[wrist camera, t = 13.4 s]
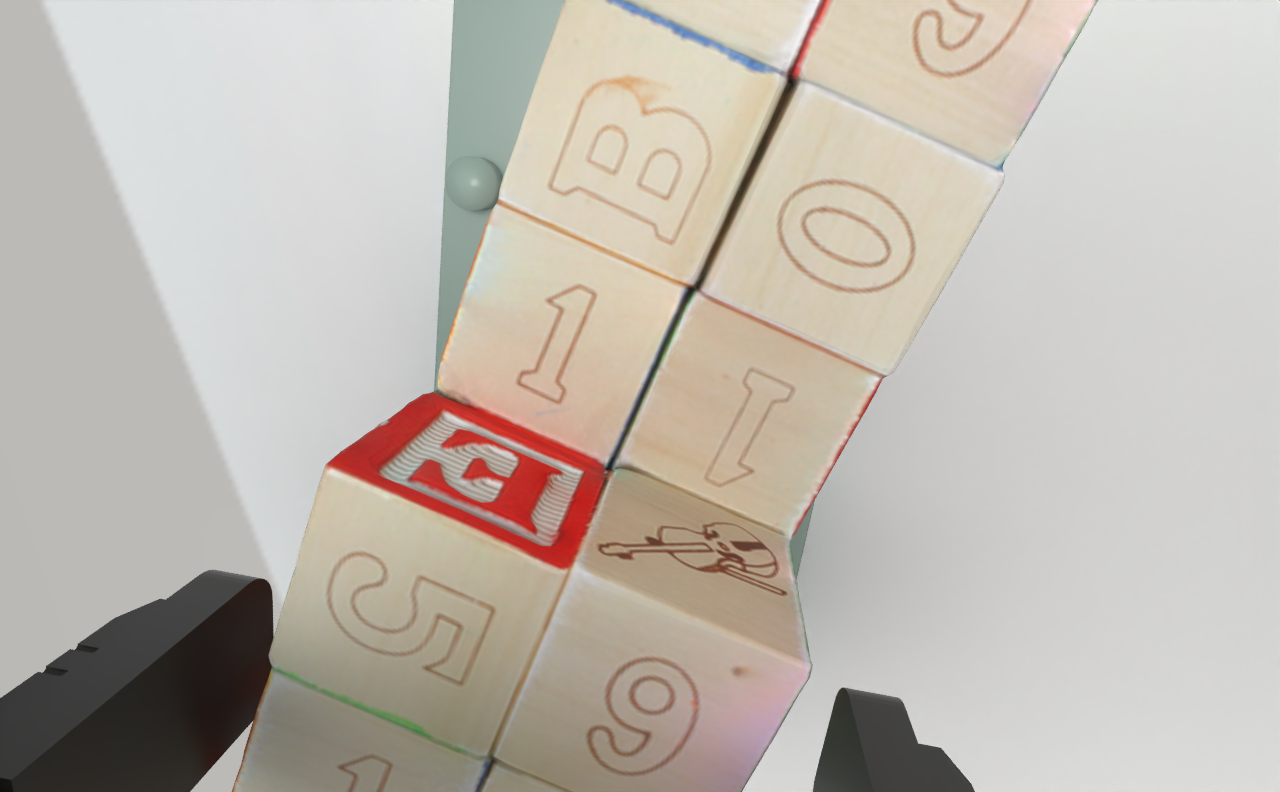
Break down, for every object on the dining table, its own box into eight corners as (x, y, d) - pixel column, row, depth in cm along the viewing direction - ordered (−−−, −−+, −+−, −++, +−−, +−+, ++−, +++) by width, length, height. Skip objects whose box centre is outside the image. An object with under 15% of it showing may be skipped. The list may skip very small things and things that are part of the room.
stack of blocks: (697, -46, 17) (651, -619, 5) (932, 64, 17) (1427, -244, 5) (422, 636, 23) (113, 1096, 11) (595, 713, 23) (469, 1249, 11)
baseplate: (913, 9, 19) (940, -15, 16) (751, 733, 26) (754, 784, 23) (476, -46, 19) (446, -77, 17) (434, 675, 26) (408, 719, 24)
